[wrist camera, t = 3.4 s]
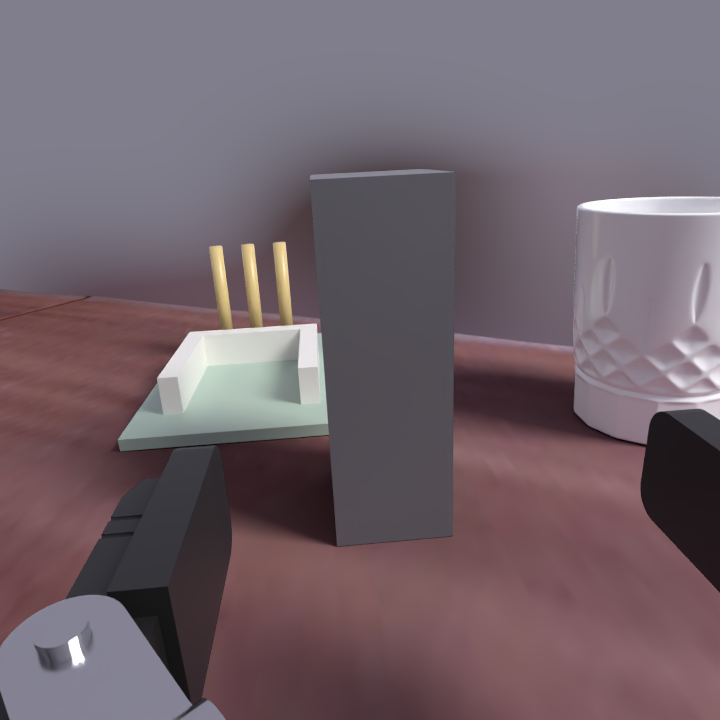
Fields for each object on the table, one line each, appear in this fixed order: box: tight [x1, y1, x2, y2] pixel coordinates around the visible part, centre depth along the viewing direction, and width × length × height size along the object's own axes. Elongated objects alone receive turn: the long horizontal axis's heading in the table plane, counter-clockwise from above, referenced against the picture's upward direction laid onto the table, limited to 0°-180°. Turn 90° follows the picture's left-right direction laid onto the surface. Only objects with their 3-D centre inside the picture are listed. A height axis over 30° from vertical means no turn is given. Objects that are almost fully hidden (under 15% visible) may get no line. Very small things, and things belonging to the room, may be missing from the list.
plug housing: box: [310, 169, 456, 546], centre depth 20 cm, size 5×4×12 cm
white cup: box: [573, 197, 720, 444], centre depth 26 cm, size 8×8×10 cm
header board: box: [118, 242, 329, 451], centre depth 33 cm, size 15×11×8 cm
